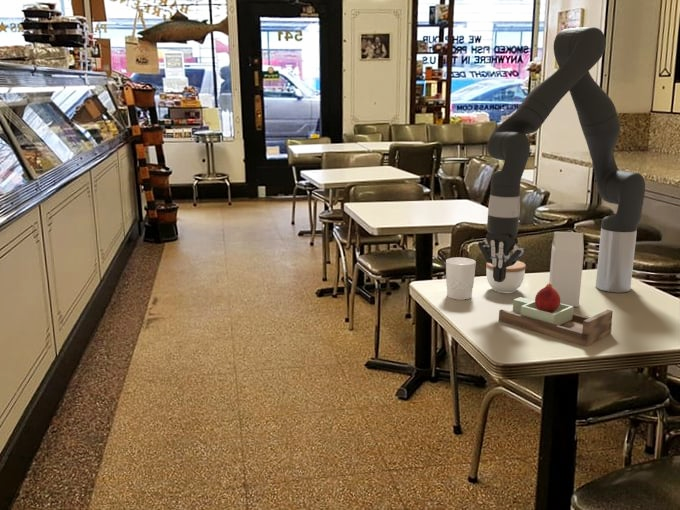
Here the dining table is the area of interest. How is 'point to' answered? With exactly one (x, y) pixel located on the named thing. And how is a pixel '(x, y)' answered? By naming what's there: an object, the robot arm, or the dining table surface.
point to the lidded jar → (507, 277)
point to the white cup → (460, 277)
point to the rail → (566, 326)
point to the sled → (530, 310)
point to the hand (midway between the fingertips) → (498, 281)
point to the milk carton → (567, 266)
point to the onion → (547, 299)
